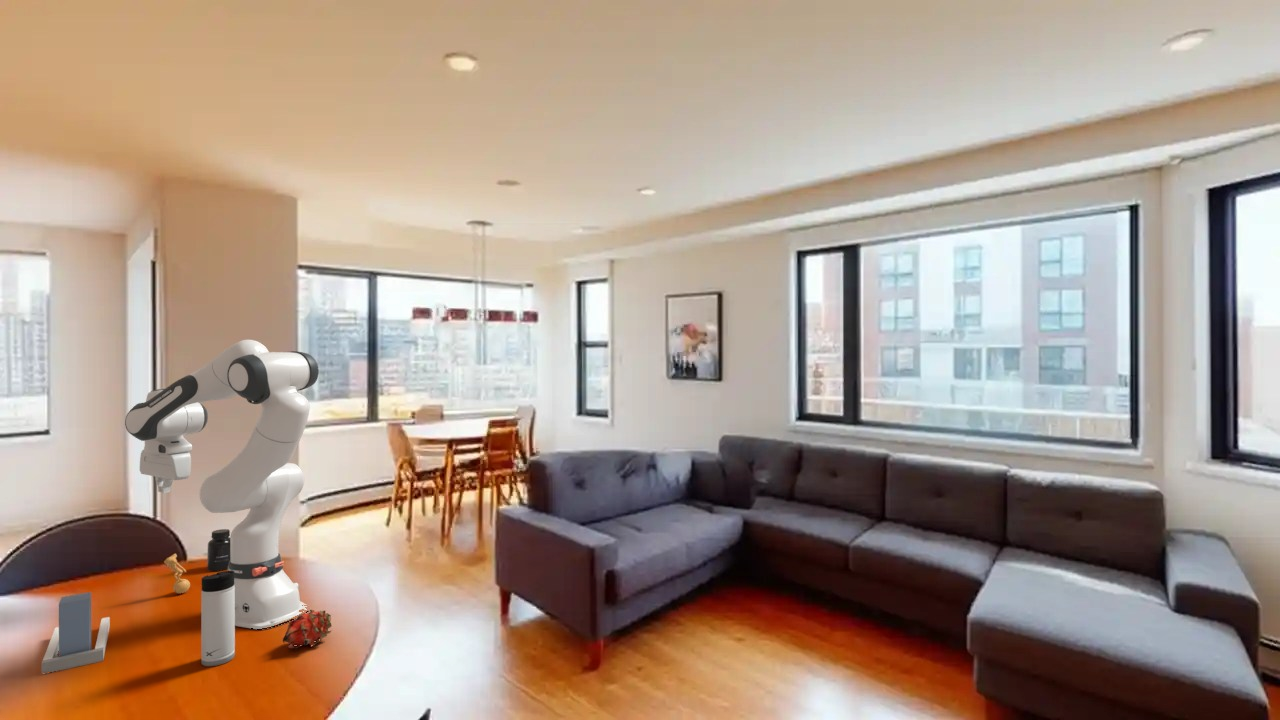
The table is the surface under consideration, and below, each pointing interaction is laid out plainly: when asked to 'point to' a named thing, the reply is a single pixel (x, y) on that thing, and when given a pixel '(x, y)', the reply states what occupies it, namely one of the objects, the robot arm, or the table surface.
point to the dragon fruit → (307, 628)
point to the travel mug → (218, 618)
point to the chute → (77, 659)
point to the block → (74, 624)
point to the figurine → (180, 584)
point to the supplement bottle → (219, 550)
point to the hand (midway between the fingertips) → (164, 492)
